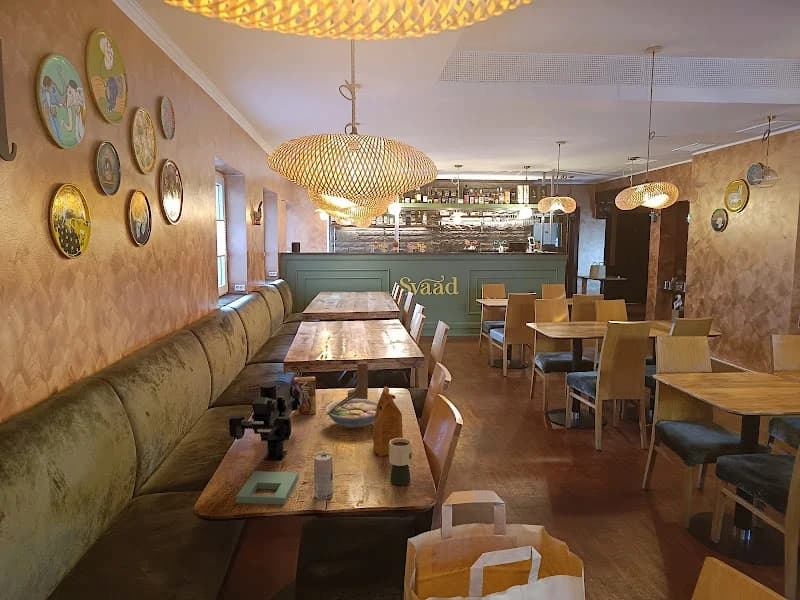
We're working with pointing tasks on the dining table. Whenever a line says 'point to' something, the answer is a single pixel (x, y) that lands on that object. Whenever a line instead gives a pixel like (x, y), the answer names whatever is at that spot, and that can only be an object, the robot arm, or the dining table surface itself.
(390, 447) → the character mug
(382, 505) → the dining table surface
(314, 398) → the candy box
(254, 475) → the socket board
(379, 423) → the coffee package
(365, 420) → the ramen bowl
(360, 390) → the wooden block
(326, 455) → the energy drink
